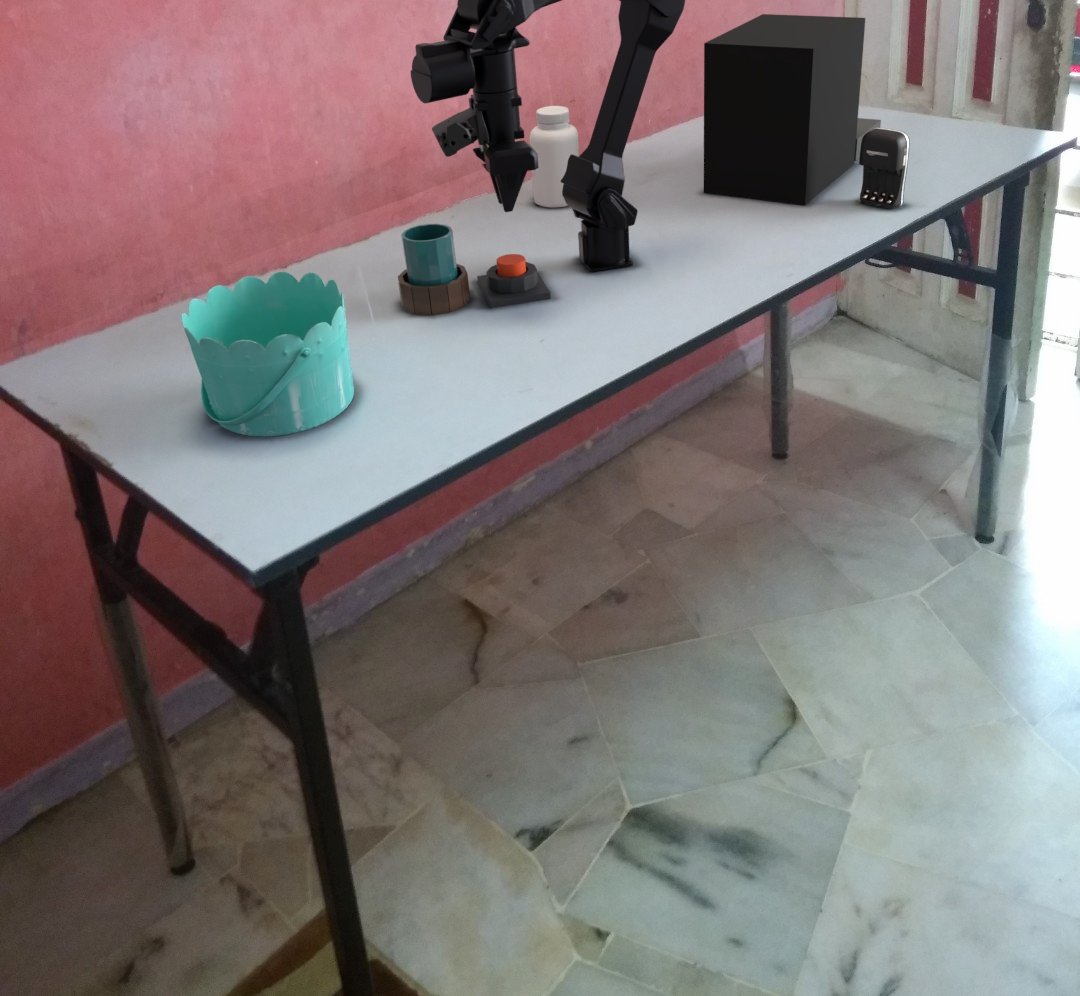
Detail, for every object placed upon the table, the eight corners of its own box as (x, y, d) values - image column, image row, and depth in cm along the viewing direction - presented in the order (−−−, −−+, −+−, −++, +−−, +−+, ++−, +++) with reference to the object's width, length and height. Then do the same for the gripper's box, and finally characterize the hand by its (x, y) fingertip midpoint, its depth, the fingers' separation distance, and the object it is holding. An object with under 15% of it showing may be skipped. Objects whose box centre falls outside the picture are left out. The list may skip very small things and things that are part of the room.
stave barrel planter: (463, 284, 164) (460, 257, 162) (474, 308, 156) (471, 281, 154) (398, 294, 163) (394, 267, 160) (406, 319, 155) (402, 292, 153)
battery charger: (852, 204, 180) (858, 131, 174) (865, 197, 182) (871, 124, 176) (892, 212, 176) (899, 137, 170) (905, 205, 178) (912, 131, 172)
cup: (455, 288, 163) (447, 220, 157) (463, 306, 157) (455, 236, 152) (408, 296, 162) (398, 228, 156) (415, 314, 156) (405, 244, 151)
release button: (495, 270, 161) (493, 256, 160) (522, 266, 161) (521, 252, 160) (500, 280, 157) (499, 266, 156) (529, 276, 158) (527, 262, 157)
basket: (376, 420, 131) (358, 316, 124) (215, 457, 127) (187, 352, 120) (343, 355, 147) (325, 260, 140) (199, 386, 142) (173, 289, 135)
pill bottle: (577, 208, 188) (572, 115, 180) (529, 208, 190) (522, 116, 181) (585, 193, 194) (580, 102, 186) (539, 193, 196) (532, 103, 188)
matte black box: (878, 144, 205) (891, 3, 192) (806, 205, 181) (814, 48, 168) (784, 136, 214) (790, 0, 201) (703, 193, 190) (704, 43, 177)
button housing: (477, 282, 164) (475, 262, 163) (535, 273, 165) (533, 253, 164) (490, 308, 156) (488, 288, 154) (551, 299, 157) (549, 278, 156)
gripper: (422, 80, 152) (436, 195, 161) (444, 113, 137) (458, 238, 145) (503, 70, 154) (513, 184, 162) (534, 101, 139) (543, 226, 147)
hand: (505, 207), depth 154 cm, fingers open, 3 cm apart
